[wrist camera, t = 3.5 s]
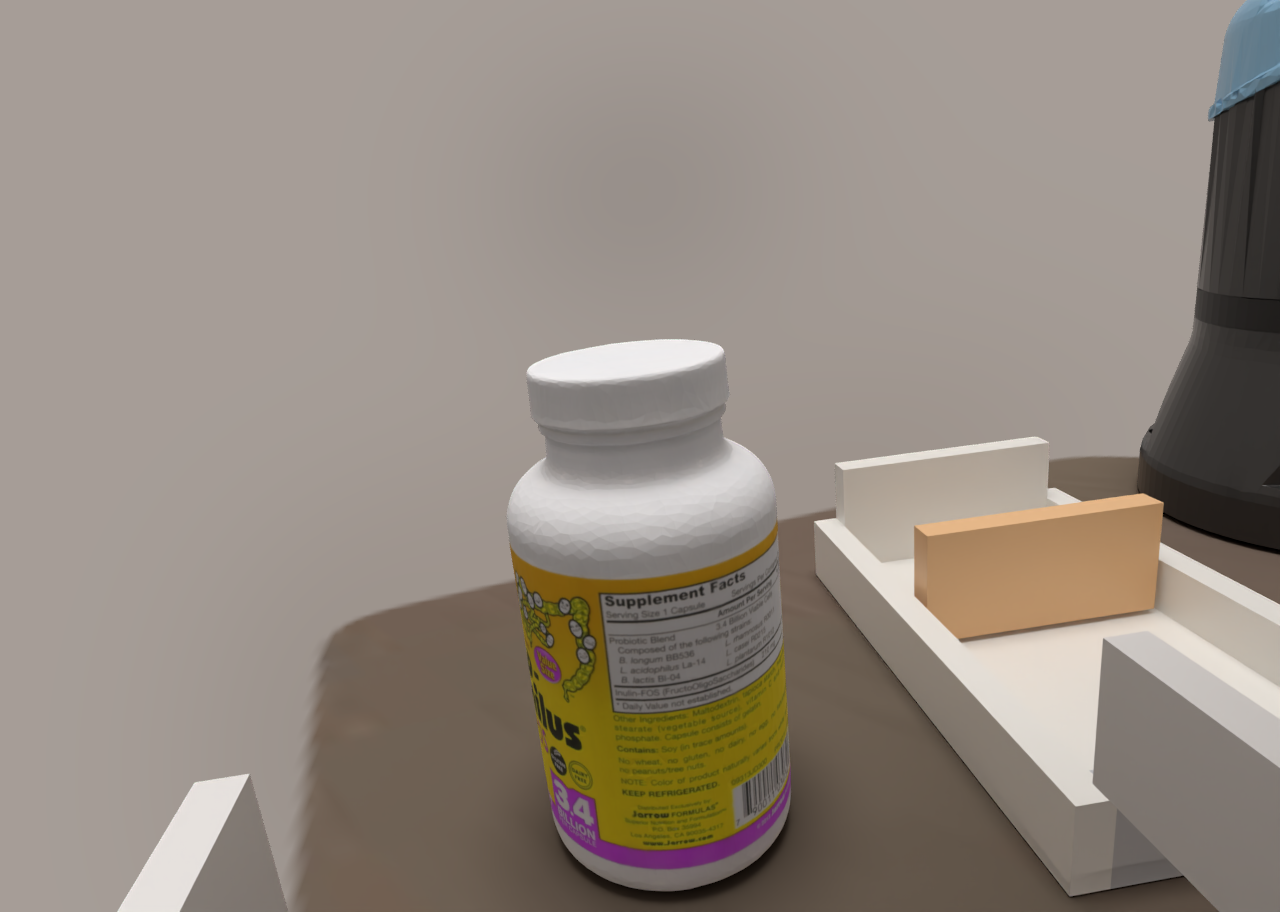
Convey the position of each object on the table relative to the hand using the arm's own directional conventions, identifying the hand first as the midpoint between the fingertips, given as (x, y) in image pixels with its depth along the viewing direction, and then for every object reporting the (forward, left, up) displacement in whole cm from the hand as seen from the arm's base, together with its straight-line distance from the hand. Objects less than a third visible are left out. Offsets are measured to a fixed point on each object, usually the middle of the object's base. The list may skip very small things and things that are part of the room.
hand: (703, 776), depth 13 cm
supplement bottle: (0, -9, -8) cm, 12 cm away
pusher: (-14, -14, -7) cm, 21 cm away
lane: (-14, -13, -8) cm, 20 cm away
